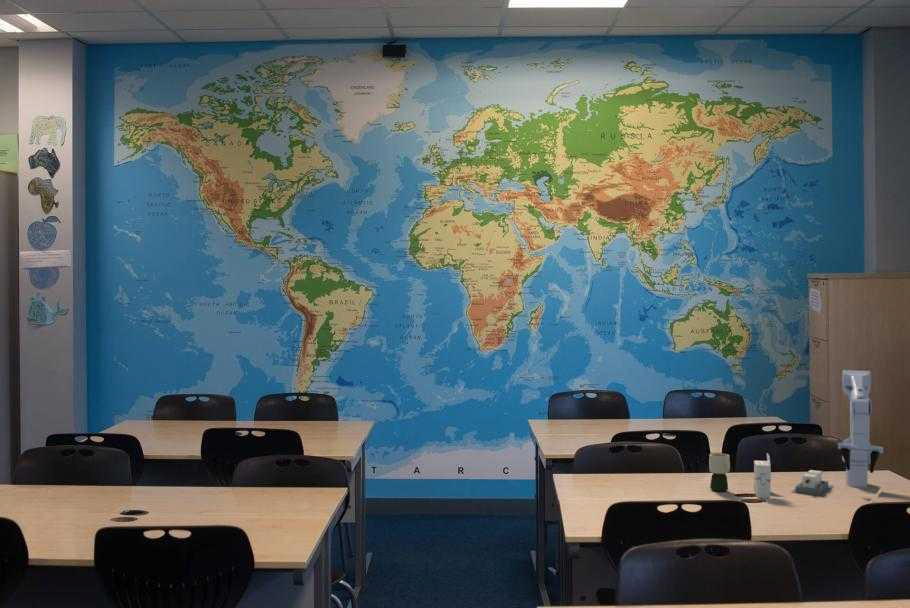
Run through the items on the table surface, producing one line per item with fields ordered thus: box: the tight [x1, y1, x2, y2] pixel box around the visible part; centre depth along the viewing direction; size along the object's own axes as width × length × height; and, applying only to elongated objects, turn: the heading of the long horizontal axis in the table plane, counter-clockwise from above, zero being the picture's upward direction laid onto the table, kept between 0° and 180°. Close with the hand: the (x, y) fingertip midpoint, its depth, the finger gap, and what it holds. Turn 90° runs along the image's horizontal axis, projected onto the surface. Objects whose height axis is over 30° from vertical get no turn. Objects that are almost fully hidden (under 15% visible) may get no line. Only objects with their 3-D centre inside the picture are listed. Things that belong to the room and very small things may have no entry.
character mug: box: [708, 452, 731, 492], centre depth 331 cm, size 11×7×13 cm, turn 23°
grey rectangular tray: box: [790, 480, 835, 498], centre depth 329 cm, size 20×11×3 cm, turn 147°
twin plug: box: [806, 469, 823, 485], centre depth 332 cm, size 7×4×6 cm, turn 147°
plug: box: [801, 473, 817, 489], centre depth 324 cm, size 7×4×6 cm, turn 147°
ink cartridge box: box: [753, 452, 772, 499], centre depth 323 cm, size 9×5×15 cm, turn 168°
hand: (859, 471), depth 321 cm, fingers open, 7 cm apart
